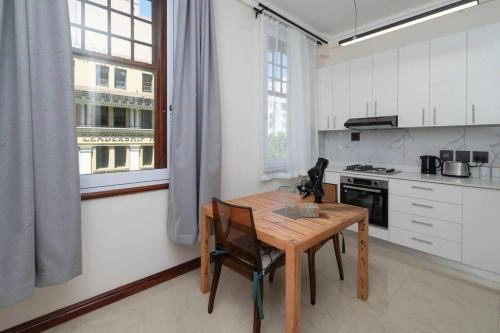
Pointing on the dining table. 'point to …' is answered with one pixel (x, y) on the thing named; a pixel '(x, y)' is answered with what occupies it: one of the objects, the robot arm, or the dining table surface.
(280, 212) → the mat
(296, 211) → the stack of blocks
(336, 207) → the dining table surface
